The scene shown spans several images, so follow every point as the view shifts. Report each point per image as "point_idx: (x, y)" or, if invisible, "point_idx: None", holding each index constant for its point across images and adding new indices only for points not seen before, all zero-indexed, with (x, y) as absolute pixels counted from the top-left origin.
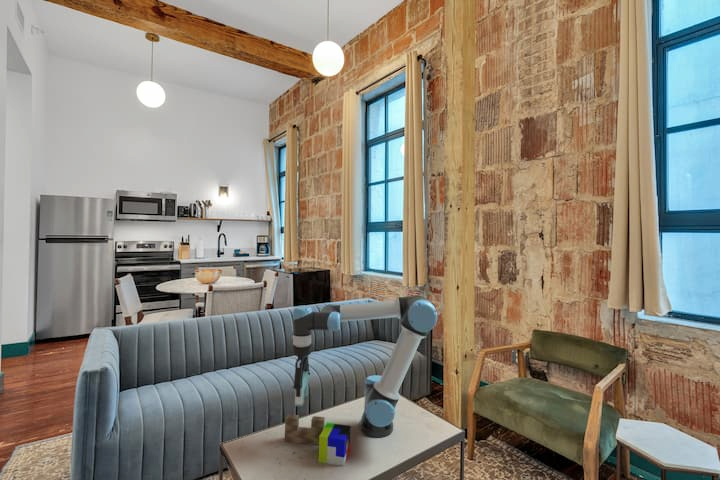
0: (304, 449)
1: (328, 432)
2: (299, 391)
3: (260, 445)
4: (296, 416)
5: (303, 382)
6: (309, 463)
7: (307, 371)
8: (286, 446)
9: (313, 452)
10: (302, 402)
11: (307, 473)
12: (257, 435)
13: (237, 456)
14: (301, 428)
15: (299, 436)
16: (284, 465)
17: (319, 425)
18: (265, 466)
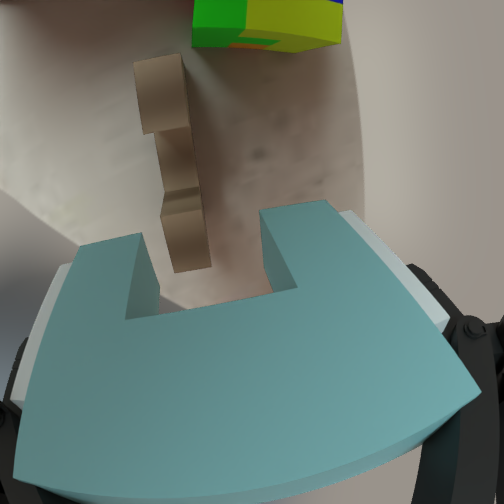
0: (232, 123)
1: (299, 1)
2: (452, 303)
3: (244, 274)
4: (178, 223)
5: (402, 382)
6: (309, 82)
7: (42, 485)
8: (229, 195)
9: (243, 83)
10: (338, 214)
11: (355, 80)
12: (197, 305)
13: None
14: (174, 173)
15: (196, 166)
16: (330, 162)
17: (183, 76)
18: None
